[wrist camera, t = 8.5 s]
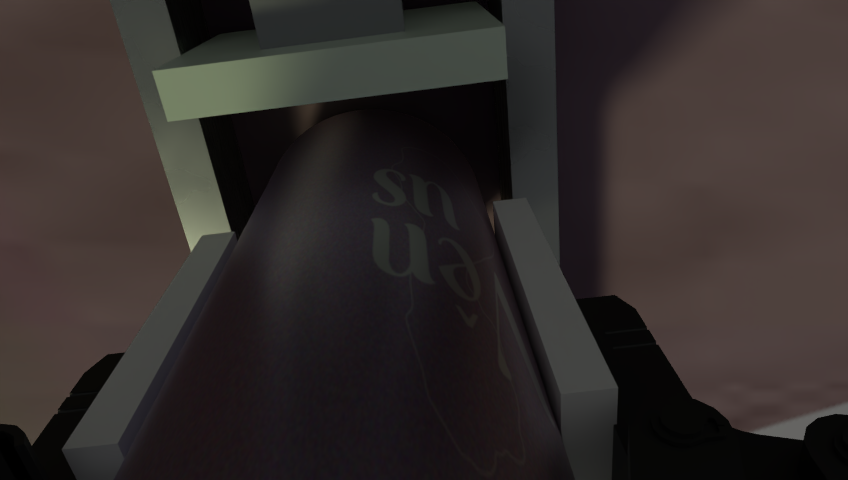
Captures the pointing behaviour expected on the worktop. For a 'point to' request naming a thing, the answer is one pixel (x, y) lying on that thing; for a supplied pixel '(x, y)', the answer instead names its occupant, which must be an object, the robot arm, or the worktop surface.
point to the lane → (218, 149)
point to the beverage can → (358, 329)
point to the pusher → (332, 56)
